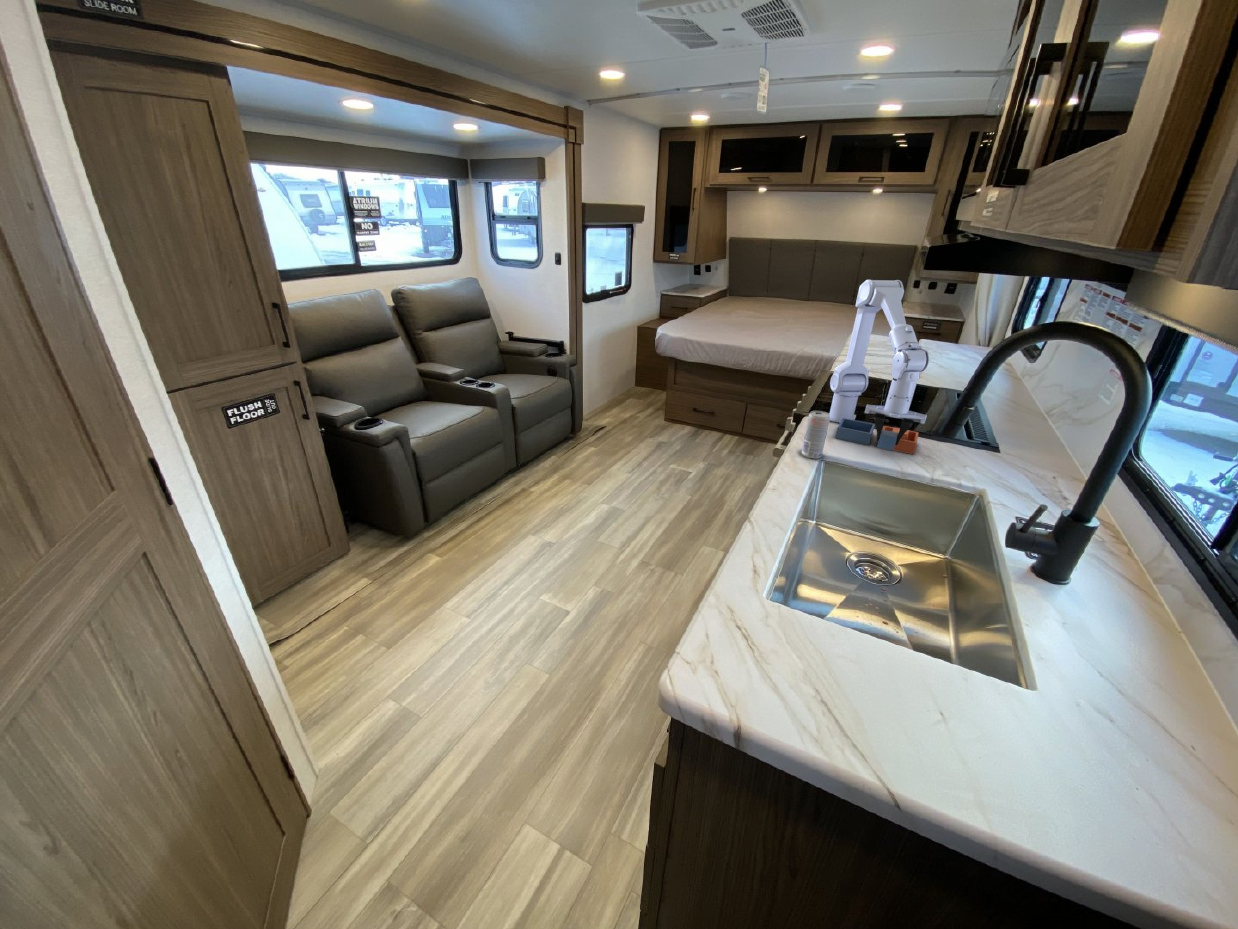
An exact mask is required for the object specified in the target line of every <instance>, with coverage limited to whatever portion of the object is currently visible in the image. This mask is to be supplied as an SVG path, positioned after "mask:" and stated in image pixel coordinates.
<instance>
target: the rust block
mask: <svg viewBox="0 0 1238 929" xmlns="http://www.w3.org/2000/svg"><path fill="white" fill-rule="evenodd" d="M899 431H900V427H893V431H892V432H897V433H899ZM909 431H910V429H908V430H907V431H906V432H905V434H904V435H903V436H902V438H901V439H903V440H907V437H908V433H909Z"/></svg>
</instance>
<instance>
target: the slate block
mask: <svg viewBox="0 0 1238 929" xmlns="http://www.w3.org/2000/svg"><path fill="white" fill-rule="evenodd" d="M897 436H898V433H897V432H892V431H887V430H882V432H881V435H880V439H879V441H877V442H878V443H877V447H876V448H877V449H883V450H887V451H894V450H893V449H894V446H895V443H896V439H897Z"/></svg>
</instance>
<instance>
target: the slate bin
mask: <svg viewBox="0 0 1238 929" xmlns="http://www.w3.org/2000/svg"><path fill="white" fill-rule="evenodd" d="M875 428H876V424H875V423H871V422H866V421H861V420H856V419H854V420H851V419H845V418H843V419H842V420H841V422H840V423H839V424H838V426H837V428H836V433H835V437H834V439H837V440H844V441H846V442H853V443H858V444H862V445H868V446H869V445H870V442H871V440H872V438H873V434H874V431H875Z"/></svg>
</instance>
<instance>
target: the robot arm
mask: <svg viewBox="0 0 1238 929" xmlns="http://www.w3.org/2000/svg"><path fill="white" fill-rule="evenodd" d="M904 294H905V288H904V284H903V282H902V280H900V279H896V280H882V279H881V280H880V279H879V280H878V279H875V280H874V279H866V280H865V281H864V282H862V283H861V284H860V285H859V288H858V292H857V297H856V302H855V307H856V308H857V311H856V314H855V319H854V323H853V327H852V333H851V336H850V340H849V346H848V349H847V354H846V358H845V361H844V362H843V363H840V364H839V365H837V366H835V368H834V372H833V374H832V376H831V377H830V381H829V386H830V389H831V391H832V392H833V397H832V401H831V406H830V409H829V412H828V414H830V421H829V422H833V423H837V424H838V423H839V424H840V422H841V420H842V419H843V418H845V419H851V420H856V418H857V414H855V411H856V407H857V404H858V400H859V396H862V393H864V392H865V391H866V390H867V388H868V386H869V374H870V371H869V369H868V367H866V366H865V365H864V363H865V360H866V355H867V352H868V347H869V343H870V339H871V335H872V332H873V327H874V324H875V319H876V315H877V313H879V312H880V311H881V310H882V311H883V313H884V315H885V317H886V320H887V322H888V324H889V326H890V331H889V333H888V338H889V341H890V345H891V348H892V351H893V354H894V356H893V357H892V359H891V366H892V370H891V377H892V379H891V382H890V386H889V390H888V394H887V397H886V400H885V404H884V405H873V404H866V406H865V410H864V414H873V415H874V418H873V419H874V420H873V421H874V424H875V429H876V441H875V442H879V439H880V435H881V432H882V429H883V426H884V423H885V419H886V417H889V418H894V419H900V420H901V424H900V427H899V428H900V431H899V433H898V436H897V439H896V443H895V445H898V443H899V441H900V439H901V438H902V436H903V435H904V434H905V432H906V431H907V430H910V428H911V427H912V426H913V424H914V422H915V423H919V424H922V425H925V424H926V420H927V416H928V415H927V414H924V413H919V412H915V411H912V410H910V407H911V404H912V401H913V397H914V394H915V390H916V387H917V384H918V381H919V377H920V373H923V372H925V370H926V369H927V368H928V366H929V362H930V355H929V351H928V350H927V349H925V348H923V346H921V345H919V342H918V339H917V336H916V332H915V330H914V327H913V326H912V325H911V324H907V322H906V317H905V313H904V308H903V303H902V300H903V297H904Z"/></svg>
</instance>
